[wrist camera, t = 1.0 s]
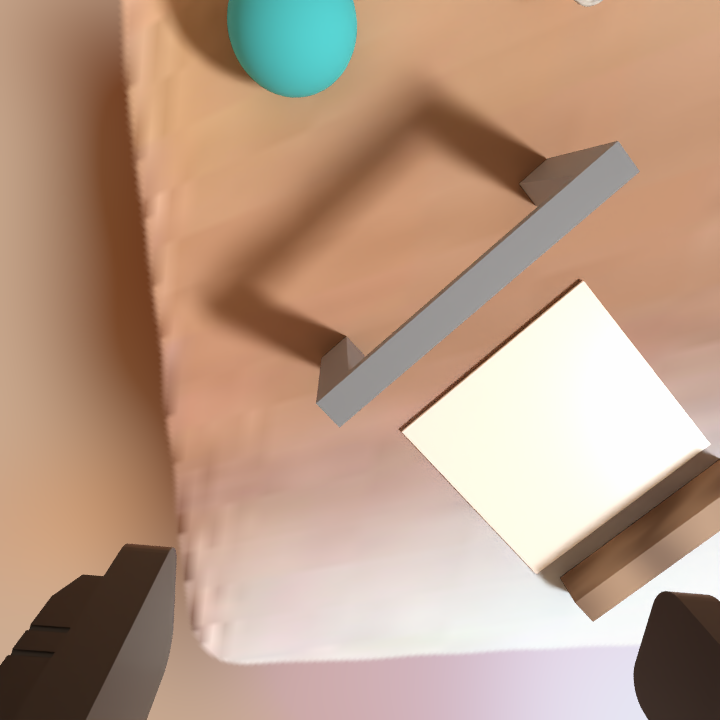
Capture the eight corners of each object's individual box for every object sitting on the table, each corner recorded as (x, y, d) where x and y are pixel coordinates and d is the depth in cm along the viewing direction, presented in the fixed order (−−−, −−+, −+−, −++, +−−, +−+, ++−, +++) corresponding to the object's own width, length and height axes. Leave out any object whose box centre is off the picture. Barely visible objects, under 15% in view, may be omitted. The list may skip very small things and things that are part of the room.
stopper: (720, 458, 36) (747, 476, 34) (736, 479, 36) (764, 498, 34) (560, 577, 38) (575, 602, 36) (577, 595, 38) (593, 621, 36)
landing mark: (582, 280, 33) (583, 280, 32) (708, 443, 36) (710, 444, 35) (401, 430, 35) (401, 432, 35) (535, 572, 38) (536, 574, 38)
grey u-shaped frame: (547, 158, 31) (618, 140, 23) (564, 181, 31) (639, 171, 23) (321, 357, 33) (316, 403, 25) (339, 377, 34) (339, 427, 26)
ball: (300, -50, 28) (289, -118, 22) (378, 51, 29) (388, 11, 23) (215, 39, 29) (183, -5, 23) (295, 132, 30) (284, 113, 24)
